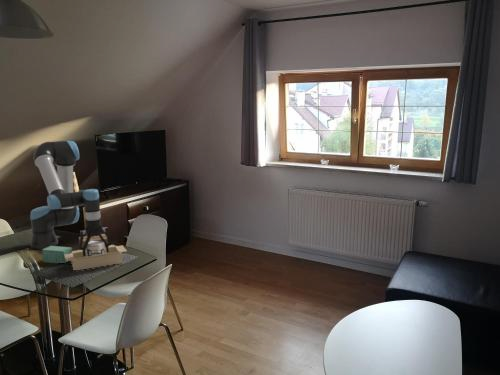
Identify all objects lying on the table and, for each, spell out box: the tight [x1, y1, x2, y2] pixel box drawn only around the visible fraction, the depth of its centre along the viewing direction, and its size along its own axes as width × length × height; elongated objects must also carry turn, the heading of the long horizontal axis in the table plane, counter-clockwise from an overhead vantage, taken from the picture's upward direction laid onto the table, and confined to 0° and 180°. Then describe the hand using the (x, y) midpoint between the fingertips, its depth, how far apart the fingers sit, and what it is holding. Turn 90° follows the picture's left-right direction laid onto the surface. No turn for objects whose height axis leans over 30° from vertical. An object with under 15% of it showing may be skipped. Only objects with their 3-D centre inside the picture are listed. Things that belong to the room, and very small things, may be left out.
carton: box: [64, 244, 128, 270], centre depth 221 cm, size 19×30×8 cm, turn 118°
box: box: [41, 245, 73, 264], centre depth 225 cm, size 7×14×8 cm, turn 78°
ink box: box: [86, 241, 105, 257], centre depth 220 cm, size 8×5×12 cm, turn 72°
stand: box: [78, 233, 108, 247], centre depth 234 cm, size 10×14×10 cm
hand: (96, 259), depth 221 cm, fingers closed on ink box, 9 cm apart
